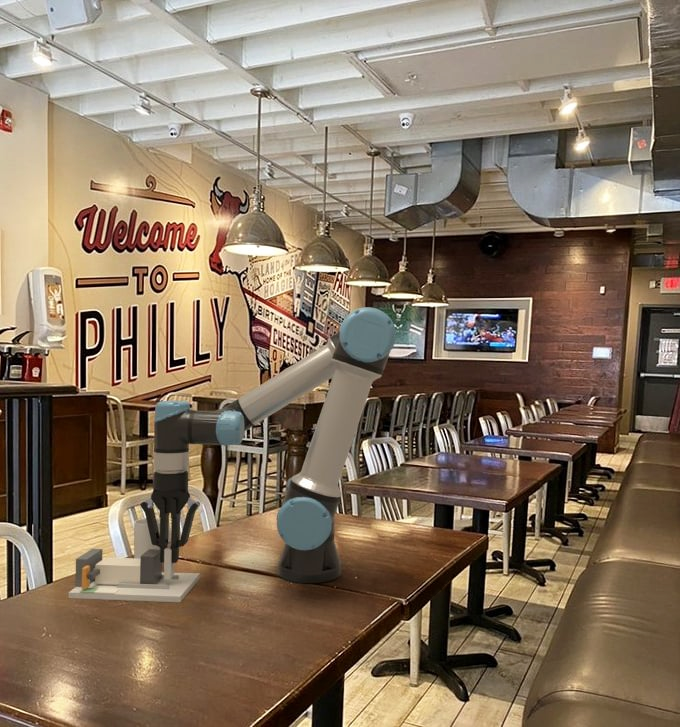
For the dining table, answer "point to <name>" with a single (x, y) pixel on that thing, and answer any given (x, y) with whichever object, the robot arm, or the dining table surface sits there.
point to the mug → (143, 537)
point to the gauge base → (131, 585)
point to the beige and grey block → (129, 569)
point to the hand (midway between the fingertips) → (169, 577)
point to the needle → (85, 577)
